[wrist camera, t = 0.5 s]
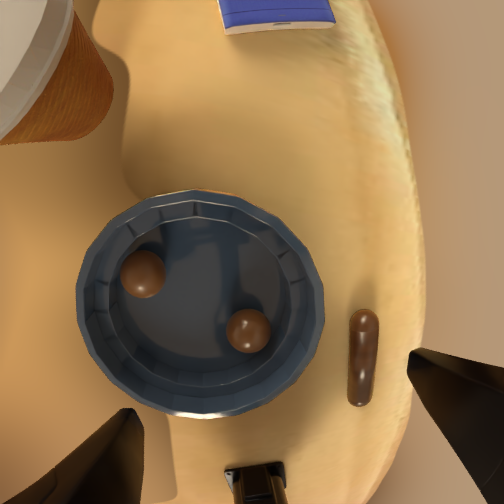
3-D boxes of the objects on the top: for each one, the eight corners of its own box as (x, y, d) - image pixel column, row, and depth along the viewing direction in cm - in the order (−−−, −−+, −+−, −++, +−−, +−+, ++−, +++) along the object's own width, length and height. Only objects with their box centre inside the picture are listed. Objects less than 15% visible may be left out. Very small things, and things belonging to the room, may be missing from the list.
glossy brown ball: (173, 285, 20) (167, 302, 17) (133, 291, 19) (120, 308, 17) (164, 242, 19) (155, 252, 16) (122, 249, 19) (108, 261, 16)
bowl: (309, 364, 23) (326, 397, 19) (133, 388, 22) (122, 423, 18) (292, 174, 20) (313, 173, 15) (80, 212, 18) (49, 220, 14)
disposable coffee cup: (156, 53, 17) (106, -53, 5) (106, 177, 18) (-10, 180, 7) (57, 40, 15) (-25, -24, 3) (13, 149, 16) (-99, 144, 5)
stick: (365, 392, 25) (375, 407, 23) (342, 399, 25) (351, 415, 23) (371, 302, 23) (385, 313, 20) (344, 308, 23) (357, 321, 20)
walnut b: (269, 335, 21) (277, 356, 18) (229, 341, 21) (231, 364, 18) (264, 298, 21) (272, 316, 18) (222, 305, 20) (222, 325, 18)
